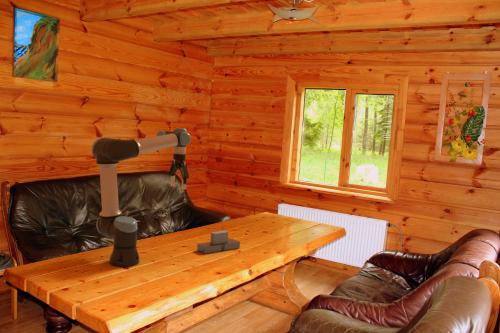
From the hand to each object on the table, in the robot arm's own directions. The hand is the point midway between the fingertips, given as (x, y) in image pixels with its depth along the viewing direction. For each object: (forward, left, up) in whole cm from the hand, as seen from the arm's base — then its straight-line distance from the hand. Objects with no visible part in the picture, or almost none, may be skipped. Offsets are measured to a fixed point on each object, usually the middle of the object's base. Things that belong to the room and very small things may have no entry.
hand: (178, 187), depth 267 cm
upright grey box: (+16, -24, -34) cm, 45 cm away
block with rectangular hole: (+16, -24, -35) cm, 45 cm away
